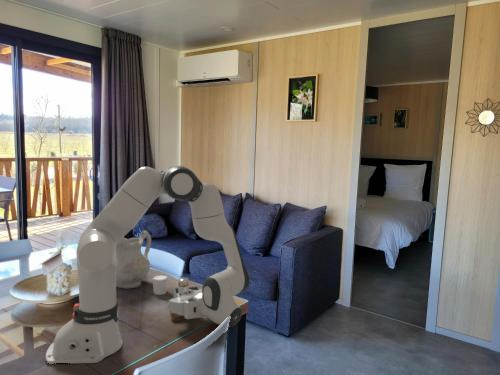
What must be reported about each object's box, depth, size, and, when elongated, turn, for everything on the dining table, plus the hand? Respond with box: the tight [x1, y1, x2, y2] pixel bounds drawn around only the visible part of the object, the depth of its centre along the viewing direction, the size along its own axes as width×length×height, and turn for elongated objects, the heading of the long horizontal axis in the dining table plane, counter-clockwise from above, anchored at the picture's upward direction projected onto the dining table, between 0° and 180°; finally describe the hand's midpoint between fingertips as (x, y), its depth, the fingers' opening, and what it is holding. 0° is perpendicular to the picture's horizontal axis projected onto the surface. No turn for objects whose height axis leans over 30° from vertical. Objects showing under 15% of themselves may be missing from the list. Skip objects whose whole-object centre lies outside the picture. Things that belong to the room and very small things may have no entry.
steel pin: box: [177, 277, 190, 296], centre depth 146 cm, size 4×4×14 cm
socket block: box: [169, 309, 194, 322], centre depth 146 cm, size 10×10×3 cm
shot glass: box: [151, 274, 169, 296], centre depth 167 cm, size 7×7×7 cm
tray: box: [171, 285, 202, 299], centre depth 159 cm, size 12×12×4 cm
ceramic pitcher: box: [116, 229, 152, 290], centre depth 176 cm, size 22×20×25 cm
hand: (182, 293), depth 146 cm, fingers closed on steel pin, 4 cm apart
